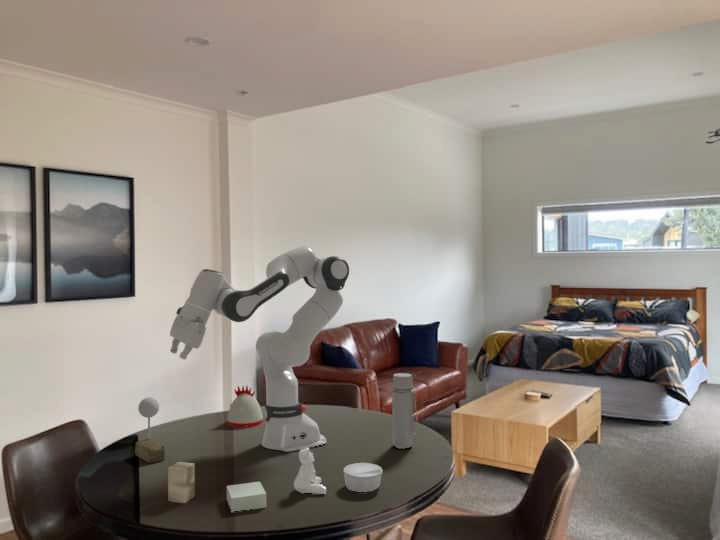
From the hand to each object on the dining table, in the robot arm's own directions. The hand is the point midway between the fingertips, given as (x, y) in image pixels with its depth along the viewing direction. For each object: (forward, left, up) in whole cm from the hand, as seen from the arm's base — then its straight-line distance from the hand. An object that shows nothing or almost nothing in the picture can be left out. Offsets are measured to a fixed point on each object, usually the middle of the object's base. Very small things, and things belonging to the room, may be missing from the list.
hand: (177, 355), depth 192 cm
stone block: (+9, -5, -34) cm, 36 cm away
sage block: (-15, +42, -34) cm, 56 cm away
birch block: (+1, +33, -34) cm, 47 cm away
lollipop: (+9, -27, -34) cm, 44 cm away
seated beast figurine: (-33, +39, -34) cm, 61 cm away
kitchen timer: (-27, -37, -34) cm, 57 cm away
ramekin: (-48, +42, -34) cm, 72 cm away
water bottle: (-74, +13, -34) cm, 83 cm away
